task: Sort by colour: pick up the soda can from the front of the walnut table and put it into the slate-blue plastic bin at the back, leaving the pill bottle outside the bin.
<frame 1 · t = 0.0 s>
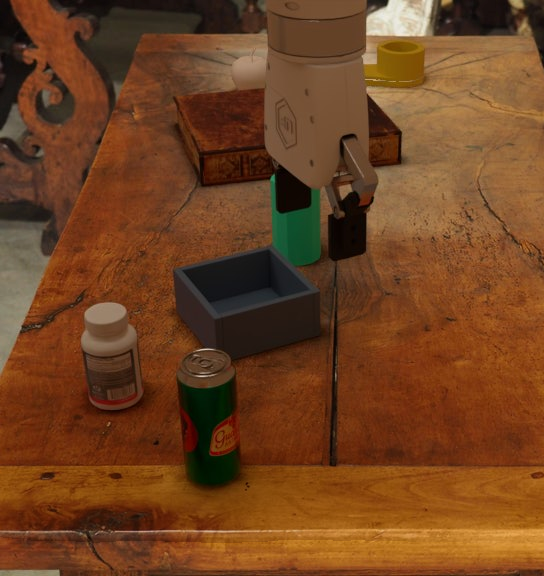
hand: (319, 232, 90), 22 cm above the table, tool pointing down, fingers open, 9 cm apart
apple: (252, 94, 184), on the table
soda can: (214, 473, 97), on the table
bin: (247, 323, 119), on the table
book: (284, 145, 164), on the table
candle: (297, 255, 134), on the table
crank: (373, 80, 191), on the table
pill bottle: (116, 397, 107), on the table
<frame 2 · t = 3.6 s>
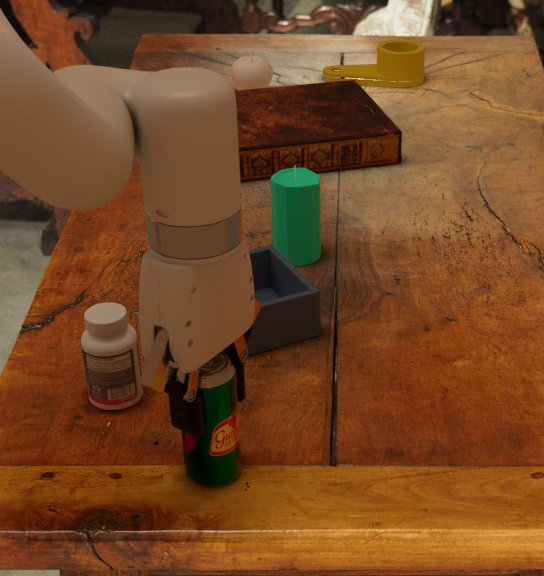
hand: (209, 411, 94), 7 cm above the table, tool pointing down, fingers closed on soda can, 5 cm apart
soda can: (214, 473, 97), on the table, touching gripper
everything else where it was.
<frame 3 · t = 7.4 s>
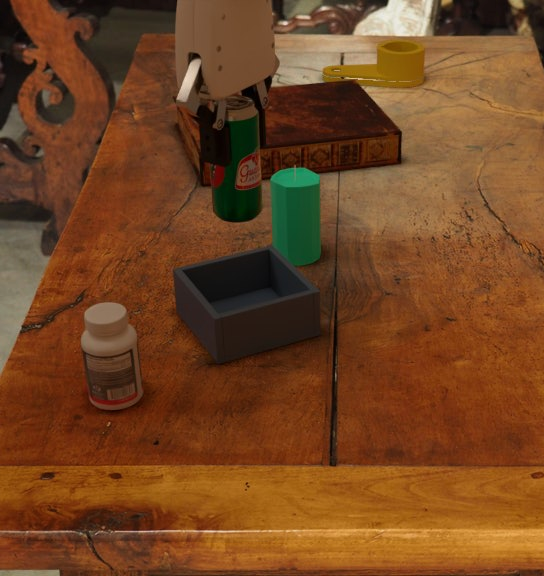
hand: (234, 151, 106), 22 cm above the table, tool pointing down, fingers closed on soda can, 5 cm apart
soda can: (238, 215, 110), point 15 cm above the table, touching gripper
everything else where it was.
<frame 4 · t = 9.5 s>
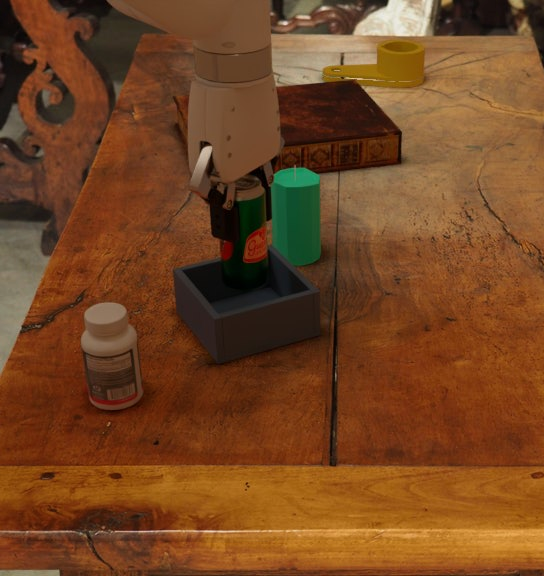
hand: (242, 226, 113), 12 cm above the table, tool pointing down, fingers closed on soda can, 5 cm apart
soda can: (245, 284, 117), point 5 cm above the table, touching gripper
everything else where it was.
when the fingers open (7 cm above the table, at t = 11.1 s): soda can stays where it is, resting on bin.
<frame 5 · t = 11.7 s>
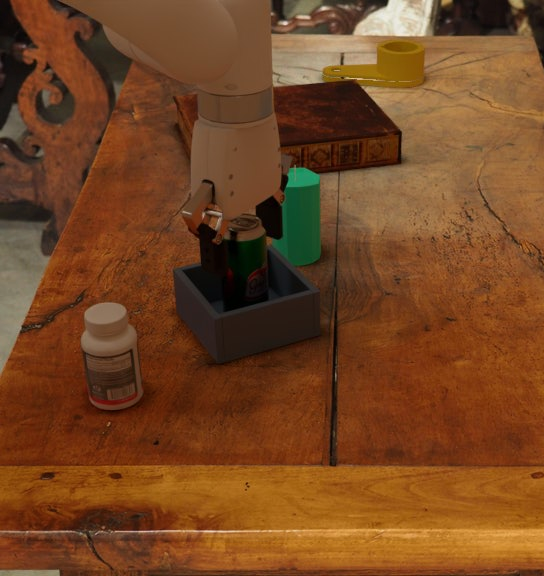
hand: (243, 253, 115), 9 cm above the table, tool pointing down, fingers open, 9 cm apart
soda can: (246, 320, 119), resting on bin
everything else where it was.
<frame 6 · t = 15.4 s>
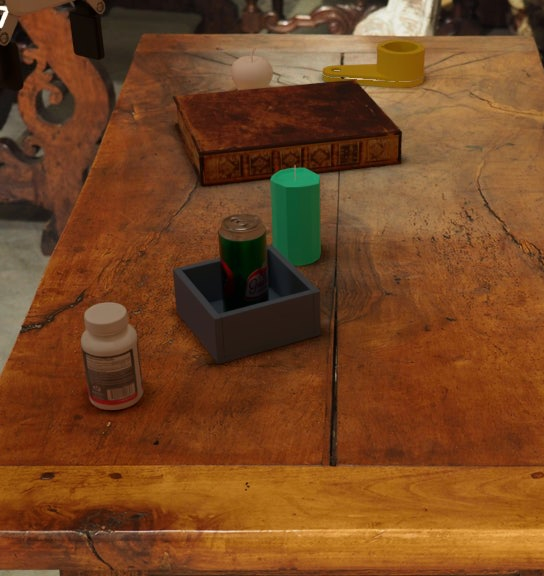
hand: (50, 71, 94), 32 cm above the table, tool pointing down, fingers open, 9 cm apart
nothing on the table moved.
at the end: soda can inside the target area in the bin (0.1 cm from its centre), point 0.4 cm above the bin's base; soda can tilted 0°; pill bottle moved 0.2 cm from its start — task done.
